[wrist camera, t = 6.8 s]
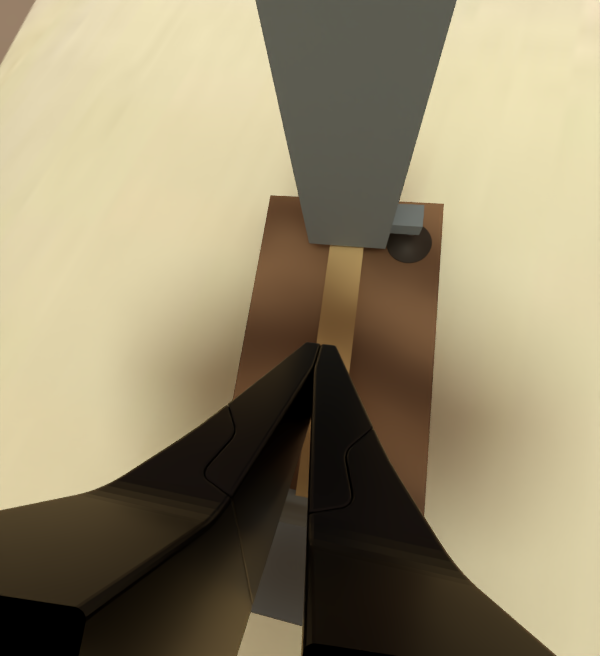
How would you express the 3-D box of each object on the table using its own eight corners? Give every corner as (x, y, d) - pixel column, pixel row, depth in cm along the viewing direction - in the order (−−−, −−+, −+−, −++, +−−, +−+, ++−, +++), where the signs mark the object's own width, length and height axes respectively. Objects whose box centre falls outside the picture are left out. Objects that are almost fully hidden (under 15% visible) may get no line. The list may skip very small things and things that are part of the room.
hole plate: (412, 586, 15) (448, 685, 10) (214, 539, 16) (157, 602, 11) (437, 216, 19) (472, 148, 14) (274, 206, 20) (252, 144, 15)
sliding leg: (415, 256, 16) (573, -47, 5) (310, 248, 17) (250, -24, 6) (420, 205, 17) (569, -167, 6) (317, 200, 18) (274, -129, 7)
